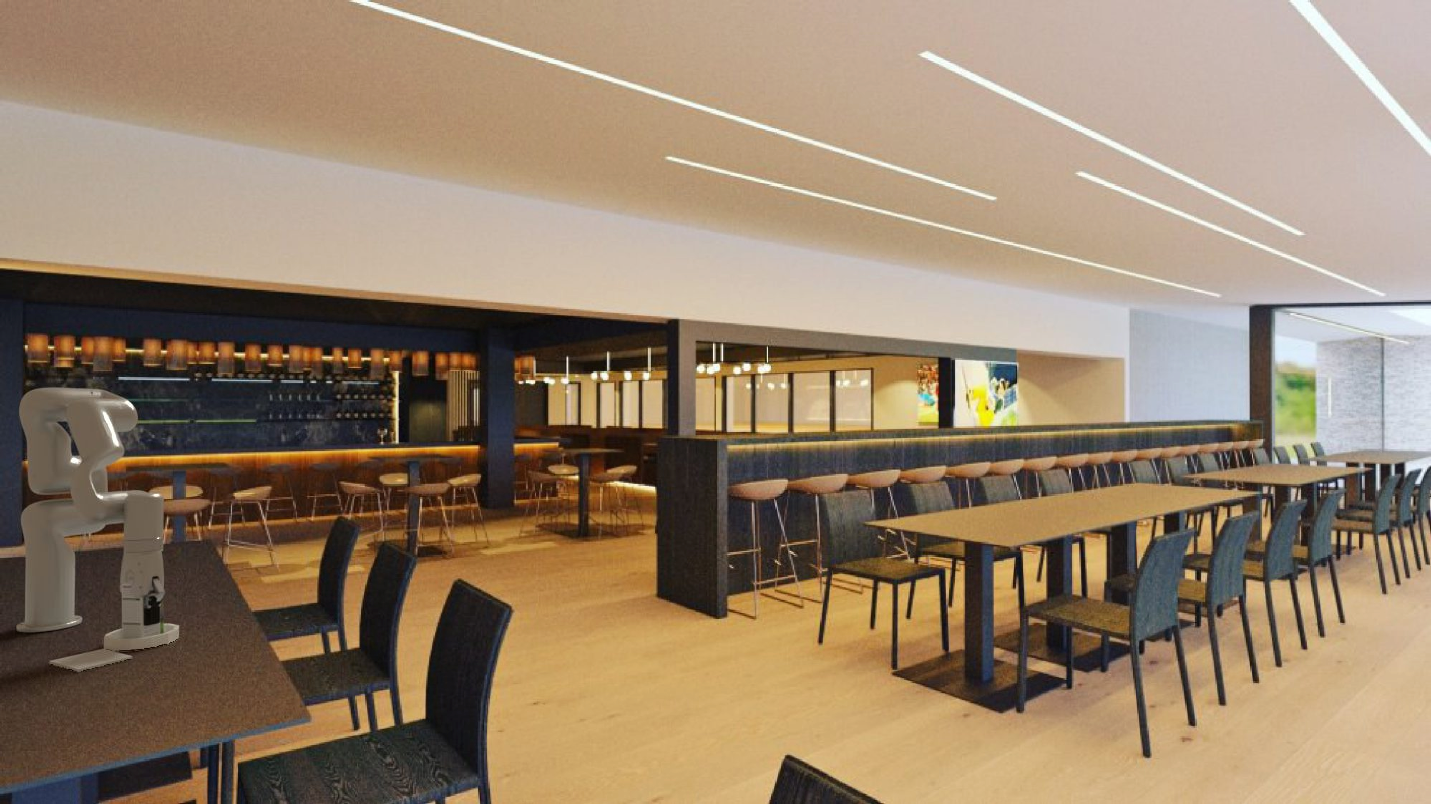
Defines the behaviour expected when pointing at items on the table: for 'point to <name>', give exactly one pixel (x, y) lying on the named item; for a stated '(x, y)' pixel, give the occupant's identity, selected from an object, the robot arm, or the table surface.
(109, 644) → the ring dish
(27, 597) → the robot arm
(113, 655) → the mat
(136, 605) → the syrup box
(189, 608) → the table surface
